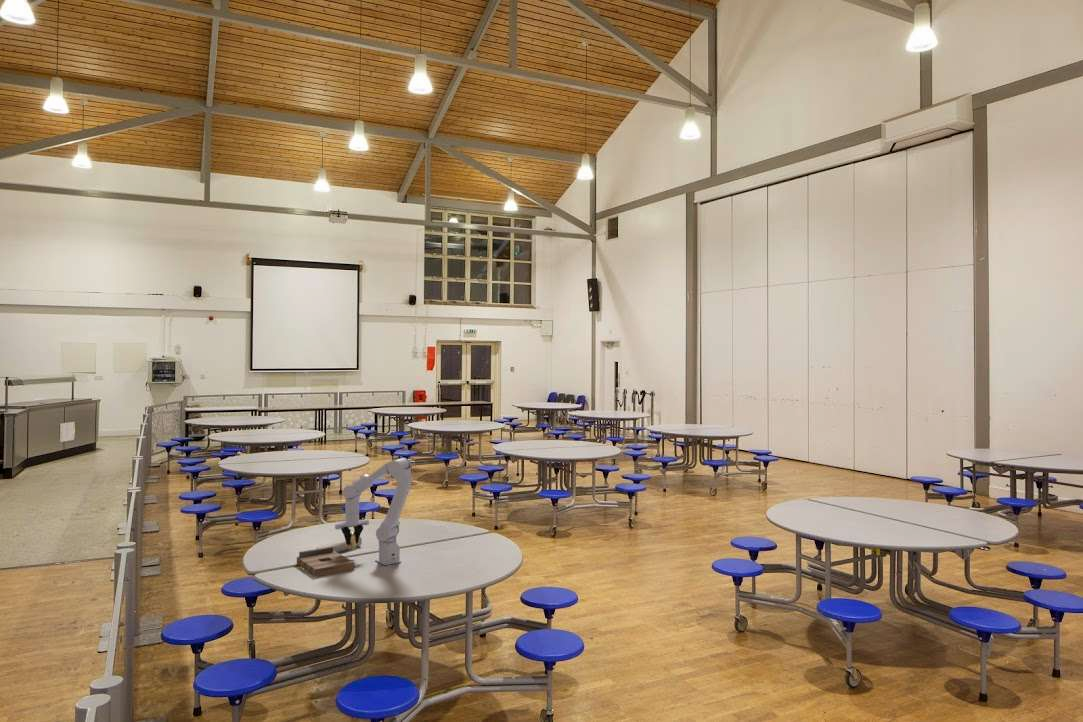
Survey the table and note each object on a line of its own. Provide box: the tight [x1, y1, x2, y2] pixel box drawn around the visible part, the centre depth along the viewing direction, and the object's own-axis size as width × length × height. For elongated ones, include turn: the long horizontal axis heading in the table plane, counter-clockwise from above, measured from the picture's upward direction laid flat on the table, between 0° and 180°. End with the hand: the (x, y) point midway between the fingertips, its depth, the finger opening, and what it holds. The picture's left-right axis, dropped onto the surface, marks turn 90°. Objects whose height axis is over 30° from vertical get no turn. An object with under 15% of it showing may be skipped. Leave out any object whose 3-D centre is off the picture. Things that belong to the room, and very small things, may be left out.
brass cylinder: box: [347, 531, 357, 551], centre depth 289 cm, size 3×3×7 cm
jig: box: [296, 547, 355, 577], centre depth 276 cm, size 22×16×5 cm
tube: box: [315, 536, 363, 554], centre depth 299 cm, size 5×5×25 cm
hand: (352, 543), depth 289 cm, fingers closed on brass cylinder, 3 cm apart
